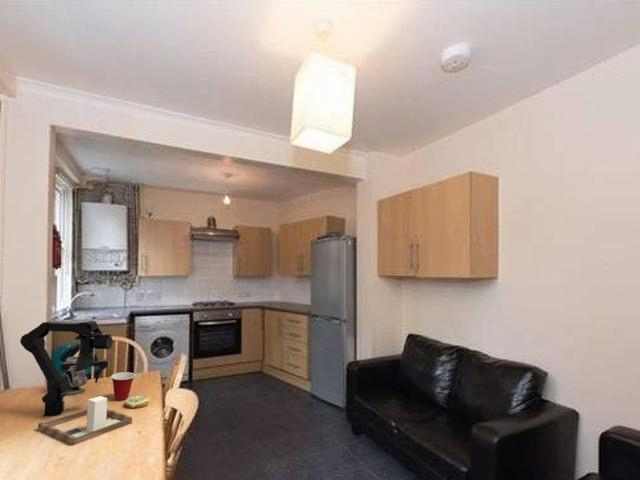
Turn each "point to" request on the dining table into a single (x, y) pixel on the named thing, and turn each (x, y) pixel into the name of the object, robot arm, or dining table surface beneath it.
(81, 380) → the apothecary jar
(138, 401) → the decorated donut
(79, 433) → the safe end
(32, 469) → the dining table surface
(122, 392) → the plastic cup
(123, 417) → the brown flat frame
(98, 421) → the pale cream block
